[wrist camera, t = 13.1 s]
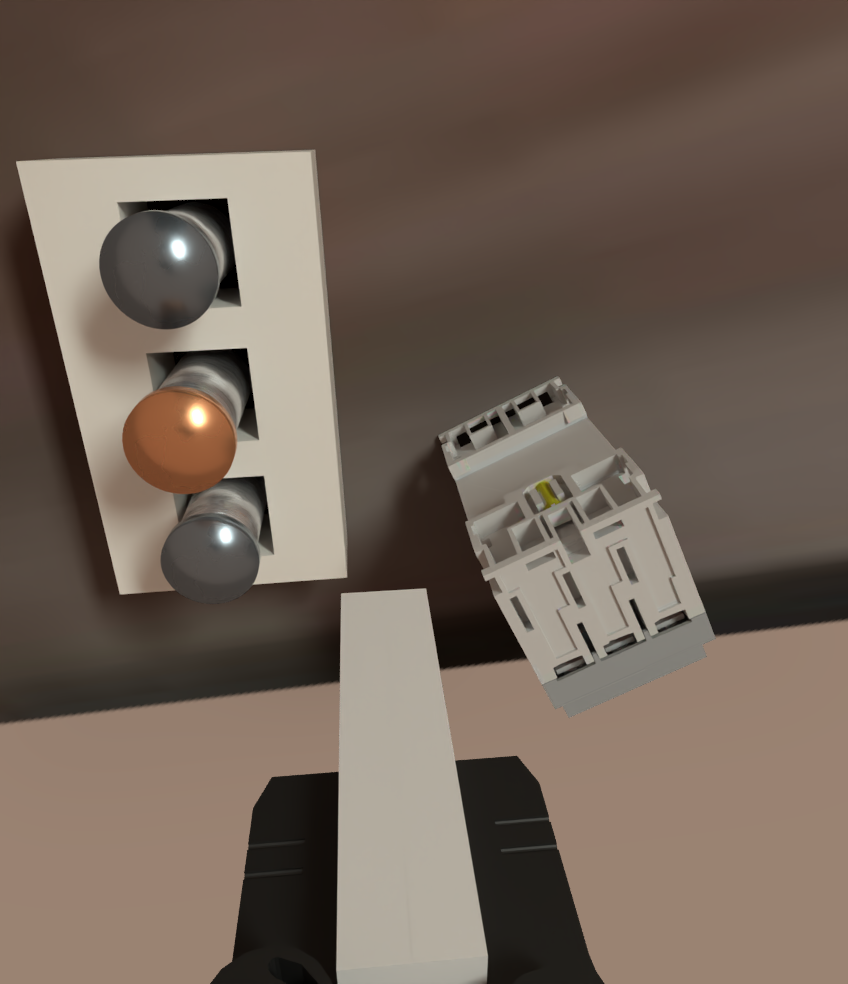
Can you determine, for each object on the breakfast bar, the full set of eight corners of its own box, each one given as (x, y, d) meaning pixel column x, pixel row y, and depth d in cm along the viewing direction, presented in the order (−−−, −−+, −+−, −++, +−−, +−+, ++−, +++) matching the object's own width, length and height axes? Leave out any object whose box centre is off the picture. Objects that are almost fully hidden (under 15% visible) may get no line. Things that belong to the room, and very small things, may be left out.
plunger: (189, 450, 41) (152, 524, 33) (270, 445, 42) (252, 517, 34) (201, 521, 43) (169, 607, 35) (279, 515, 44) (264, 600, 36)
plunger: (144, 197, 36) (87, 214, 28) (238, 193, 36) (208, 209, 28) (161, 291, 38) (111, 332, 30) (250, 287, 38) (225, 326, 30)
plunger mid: (161, 340, 37) (111, 395, 29) (251, 335, 37) (226, 389, 30) (177, 424, 39) (133, 497, 31) (262, 419, 39) (241, 490, 31)
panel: (58, 158, 35) (16, 161, 31) (315, 149, 36) (310, 151, 32) (142, 548, 44) (120, 594, 40) (347, 533, 45) (347, 577, 41)
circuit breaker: (532, 615, 49) (603, 797, 36) (438, 435, 43) (480, 571, 30) (638, 567, 48) (753, 734, 35) (557, 376, 42) (657, 488, 29)
